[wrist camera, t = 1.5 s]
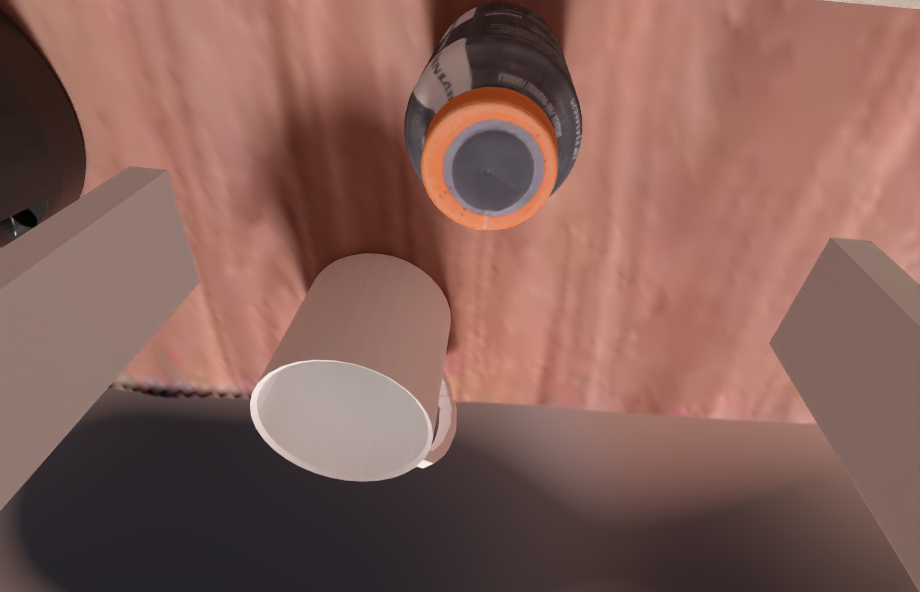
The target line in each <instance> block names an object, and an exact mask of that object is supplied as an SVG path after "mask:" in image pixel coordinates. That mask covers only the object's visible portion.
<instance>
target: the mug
mask: <svg viewBox="0 0 920 592" xmlns="http://www.w3.org/2000/svg"><path fill="white" fill-rule="evenodd" d="M450 325H451V316H450V309H449V305H448V302H447V299H446V298H445V296H444V294H443V292H442V290H441V289H440V288H439V286H438V285H437V284H436V283H435V282H434V280H433V279H432V278H431V277H430V276H429V275H427V274H426V273H425V272H424V271H423V270H421V269H420V268H418V267H417V266H415V265H413V264H411V263H410V262H408V261H405V260H403V259H400V258H397V257H394V256H390V255H384V254H376V253H364V254H357V255H351V256H347V257H344V258H342V259H339V260H336V261H335V262H333V263H331V264H330V265H328V266H327V267H325V268H324V269H323V270H322V271H321V272H320V273H319V274H318V275H317V277H316V279H315V281H314V282H313V284H312V286H311V288H310V290H309V291H308V293H307V295H306V297H305V299H304V300H303V302H302V304H301V306H300V308H299V309H298V311H297V313H296V315H295V317H294V318H293V320H292V322H291V324H290V326H289V328H288V329H287V331H286V333H285V335H284V337H283V338H282V340H281V342H280V344H279V346H278V347H277V349H276V351H275V353H274V355H273V357H272V358H271V360H270V362H269V364H268V366H267V367H266V369H265V371H264V373H263V375H262V376H261V378H260V380H259V382H258V384H257V386H256V387H255V389H254V391H253V393H252V397H251V402H250V409H251V417H252V419H253V422H254V424H255V427H256V429H257V430H258V432H259V433H260V435H261V436H262V437H263V439H264V440H265V441H266V442H267V443H268V444H269V445H270V446H271V447H272V448H273V449H274V450H275V451H276V452H278V453H279V454H280V455H282V456H283V457H285V458H286V459H287V460H289V461H291V462H293V463H295V464H296V465H298V466H300V467H302V468H305V469H307V470H309V471H312V472H314V473H317V474H321V475H324V476H327V477H331V478H336V479H343V480H349V481H378V480H383V479H388V478H393V477H396V476H398V475H401V474H404V473H406V472H408V471H410V470H411V469H413V468H415V467H416V466H417V467H420V468H425V467H427V466H429V465H431V464H433V463H435V462H436V461H437V460H439V459H440V458H441V457H443V456H444V455H445V453H446V452H447V450H448V449H449V447H450V444H451V442H452V440H453V437H454V435H455V431H456V418H457V409H456V405H455V400H454V399H453V394H452V390H451V385H450V383H449V380H448V377H447V376H446V374H445V372H444V363H445V357H446V350H447V344H448V337H449V331H450ZM438 404H439V407H440V415H439V428H438V432H437V435H436V438H435V441H434V442H433V444H432V446H431V443H432V440H433V434H434V428H435V421H436V415H437V408H438Z"/></svg>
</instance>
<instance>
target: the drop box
mask: <svg viewBox="0 0 920 592" xmlns="http://www.w3.org/2000/svg"><path fill="white" fill-rule="evenodd" d="M826 1H837V2H848V3H859V4H870V5H882V6H893V7H904V8H915V9H920V0H826Z"/></svg>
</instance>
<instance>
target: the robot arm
mask: <svg viewBox="0 0 920 592" xmlns="http://www.w3.org/2000/svg"><path fill="white" fill-rule="evenodd" d="M85 169H86V166H85V153H84V146H83V141H82V137H81V134H80V130H79V127H78V124H77V121H76V118H75V116H74V113H73V111H72V109H71V106H70V104H69V102H68V100H67V98H66V96H65V94H64V92H63V91H62V89H61V87H60V85H59V83H58V82H57V80H56V79H55V77H54V75H53V74H52V72H51V71H50V69H49V68H48V66H47V65H46V63H45V62H44V60H43V59H42V58H41V56H40V55H39V54H38V52H37V51H36V50H35V49H34V47H33V46H32V45H31V44H30V42H29V41H28V40H27V39H26V38H25V36H24V35H23V34H22V33H21V32H20V31H19V30H18V29H17V28H16V26H15V25H14V24H13V23H12V22H11V21H10V20H9V19H8V18H7V17H6V16H5V15H4V14H3V13H2V12H1V11H0V510H1V509H2V508H3V507H4V506H5V505H6V503H7V502H8V501H9V500H10V499H11V498H12V496H13V495H14V494H15V493H16V492H17V491H18V490H19V489H20V488H21V486H22V485H23V484H24V483H25V482H26V481H27V480H28V478H29V477H30V476H31V475H32V474H33V473H34V472H35V470H36V469H37V468H38V467H39V466H40V465H41V463H42V462H43V461H44V460H45V459H46V458H47V457H48V455H49V454H50V453H51V452H52V451H53V450H54V449H55V447H56V446H57V445H58V444H59V442H61V441H62V439H63V438H64V437H65V436H66V435H67V434H68V433H69V431H70V430H71V429H72V428H73V427H74V426H75V425H76V423H77V422H78V421H79V420H80V419H81V418H82V417H83V415H84V414H85V413H86V412H87V411H88V410H89V409H90V407H91V406H92V405H93V404H94V403H95V402H96V401H97V399H98V398H99V397H100V396H101V395H102V394H103V393H104V391H105V390H106V389H107V388H108V387H109V386H110V385H111V383H112V382H113V381H114V380H115V379H116V378H117V377H118V375H119V374H120V373H121V372H122V371H123V370H124V368H125V367H126V366H127V365H128V364H129V363H130V362H131V360H132V359H133V358H134V357H135V356H136V355H137V354H138V352H139V351H140V350H141V349H142V348H143V347H144V346H145V344H146V343H147V342H148V341H149V340H150V339H151V338H152V336H153V335H154V334H155V333H156V332H157V331H158V330H159V328H160V327H161V326H162V325H163V324H164V323H165V322H166V320H167V319H168V318H169V317H170V316H171V315H172V314H173V312H174V311H175V310H176V309H177V308H178V307H179V306H180V304H181V303H182V302H183V301H184V300H185V299H186V298H187V296H188V295H189V294H190V293H191V292H192V291H193V290H194V288H195V287H196V286H197V285H198V284H199V283H200V281H199V277H198V274H197V270H196V267H195V264H194V260H193V257H192V253H191V250H190V246H189V243H188V240H187V236H186V233H185V229H184V226H183V222H182V219H181V216H180V212H179V209H178V205H177V202H176V198H175V195H174V191H173V188H172V185H171V181H170V178H169V174H168V171H167V170H161V169H151V168H141V167H131V166H130V167H128V168H127V169H125V170H124V171H122V172H121V173H119V174H117V175H116V176H114V177H113V178H111V179H110V180H108V181H106V182H105V183H103V184H102V185H100V186H99V187H97V188H95V189H94V190H92V191H91V192H89V193H88V194H86V195H84V196H83V197H81V198H80V199H79V197H80V195H81V193H82V189H83V186H84V180H85ZM769 344H770V345H771V347H772V349H773V350H774V352H775V354H776V355H777V357H778V359H779V360H780V362H781V364H782V365H783V367H784V369H785V370H786V372H787V374H788V375H789V377H790V379H791V380H792V382H793V384H794V385H795V387H796V388H797V390H798V392H799V393H800V395H801V397H802V398H803V400H804V402H805V403H806V405H807V407H808V408H809V410H810V412H811V413H812V415H813V417H814V418H815V420H816V422H817V423H818V425H819V427H820V428H821V430H822V432H823V433H824V435H825V436H826V438H827V440H828V441H829V443H830V445H831V446H832V448H833V450H834V451H835V453H836V455H837V456H838V458H839V460H840V461H841V463H842V464H843V466H844V468H845V470H846V471H847V473H848V475H849V476H850V478H851V479H852V481H853V483H854V485H855V486H856V488H857V489H858V491H859V493H860V494H861V496H862V498H863V499H864V501H865V503H866V504H867V506H868V508H869V509H870V511H871V513H872V514H873V516H874V518H875V519H876V521H877V523H878V524H879V526H880V528H881V529H882V531H883V533H884V534H885V536H886V537H887V539H888V541H889V542H890V544H891V546H892V547H893V549H894V551H895V552H896V554H897V556H898V557H899V559H900V561H901V562H902V564H903V566H904V567H905V569H906V571H907V572H908V574H909V575H910V577H911V579H912V580H913V582H914V584H915V586H916V587H917V589H918V590H919V592H920V285H919V284H918V283H917V282H916V281H915V280H914V279H913V278H911V277H910V276H909V275H908V274H907V273H906V272H905V271H904V270H903V269H901V268H900V267H899V266H898V265H897V264H896V263H895V262H894V261H892V260H891V259H890V258H889V257H888V256H887V255H886V254H885V253H884V252H882V251H881V250H880V249H879V248H878V247H877V246H876V245H875V244H874V243H872V242H871V241H863V240H854V239H844V238H834V237H831V238H830V239H829V241H828V243H827V244H826V246H825V248H824V250H823V251H822V253H821V255H820V257H819V258H818V260H817V262H816V263H815V265H814V267H813V269H812V270H811V272H810V274H809V276H808V277H807V279H806V281H805V282H804V284H803V286H802V288H801V289H800V291H799V293H798V295H797V296H796V298H795V300H794V301H793V303H792V305H791V307H790V308H789V310H788V312H787V314H786V315H785V317H784V319H783V320H782V322H781V324H780V326H779V327H778V329H777V331H776V333H775V334H774V336H773V338H772V339H771V341H770V343H769Z"/></svg>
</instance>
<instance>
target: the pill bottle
mask: <svg viewBox="0 0 920 592" xmlns="http://www.w3.org/2000/svg"><path fill="white" fill-rule="evenodd" d="M581 136H582V115H581V110H580V105H579V101H578V98H577V95H576V92H575V88H574V86H573V83H572V79H571V76H570V73H569V70H568V67H567V64H566V61H565V59H564V56H563V53H562V50H561V48H560V46H559V43H558V40H557V38H556V36H555V34H554V33H553V32H552V30H551V29H550V28H549V26H548V25H547V24H546V22H545V21H544V20H543V19H541V18H540V17H539V16H538V15H537V14H535V13H534V12H532V11H531V10H529V9H526V8H523V7H521V6H518V5H516V4H512V3H504V2H492V3H488V4H483V5H480V6H477V7H475V8H473V9H471V10H469V11H468V12H466V13H465V14H463V15H462V16H461V17H459V18H458V19H457V20H456V21H455V22H454V23H453V24H452V25H451V26H450V27H449V29H448V30H447V31H446V33H445V34H444V36H443V38H442V40H441V41H440V43H439V45H438V46H437V48H436V50H435V51H434V53H433V55H432V57H431V58H430V60H429V62H428V64H427V65H426V67H425V68H424V70H423V72H422V74H421V76H420V78H419V80H418V82H417V84H416V86H415V87H414V89H413V92H412V94H411V96H410V99H409V102H408V106H407V110H406V115H405V141H406V147H407V151H408V155H409V158H410V160H411V163H412V166H413V168H414V170H415V172H416V174H417V175H418V177H419V178H420V180H421V181H422V183H423V184H424V185H425V188H426V191H427V193H428V195H429V197H430V198H431V200H432V201H433V202H434V204H435V205H436V206H437V207H438V209H439V210H440V211H441V212H442V213H444V214H445V215H446V216H447V217H449V218H450V219H452V220H454V221H455V222H457V223H459V224H462V225H464V226H467V227H470V228H473V229H478V230H497V229H505V228H509V227H512V226H515V225H517V224H519V223H521V222H523V221H525V220H527V219H528V218H530V217H531V216H533V215H534V214H535V213H536V212H537V211H538V210H539V209H540V208H541V207H542V206H543V204H544V203H545V202H546V201H547V200H548V198H549V197H550V196H551V195H552V194H553V193H554V192H555V191H556V190H557V189H558V188H559V187H560V186H561V184H562V183H563V182H564V180H565V179H566V178H567V176H568V175H569V173H570V171H571V169H572V167H573V165H574V163H575V160H576V158H577V155H578V152H579V148H580V143H581Z"/></svg>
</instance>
